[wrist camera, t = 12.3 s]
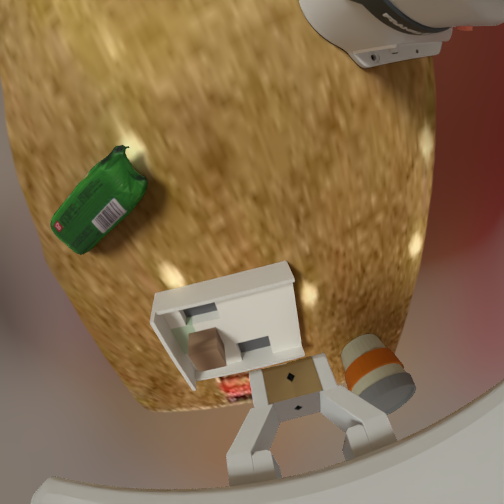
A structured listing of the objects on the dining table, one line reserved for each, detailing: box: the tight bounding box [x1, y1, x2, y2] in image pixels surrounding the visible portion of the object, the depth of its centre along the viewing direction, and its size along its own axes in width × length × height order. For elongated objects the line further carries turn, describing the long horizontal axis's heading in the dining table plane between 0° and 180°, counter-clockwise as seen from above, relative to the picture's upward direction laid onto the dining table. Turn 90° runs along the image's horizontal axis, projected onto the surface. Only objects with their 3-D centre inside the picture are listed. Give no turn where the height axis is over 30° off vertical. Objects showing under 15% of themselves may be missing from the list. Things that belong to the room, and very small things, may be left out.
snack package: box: [50, 145, 148, 255], centre depth 32 cm, size 7×16×5 cm, turn 125°
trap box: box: [150, 261, 305, 391], centre depth 44 cm, size 20×17×6 cm
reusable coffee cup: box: [341, 334, 416, 415], centre depth 51 cm, size 13×13×15 cm
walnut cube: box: [188, 327, 227, 372], centre depth 43 cm, size 4×4×4 cm
